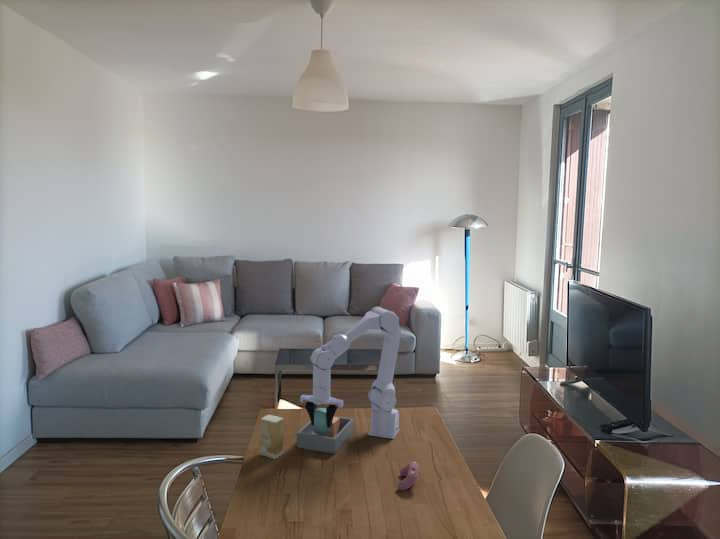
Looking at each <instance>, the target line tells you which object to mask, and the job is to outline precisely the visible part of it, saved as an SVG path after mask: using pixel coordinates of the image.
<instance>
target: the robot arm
mask: <svg viewBox="0 0 720 539" xmlns="http://www.w3.org/2000/svg"><path fill="white" fill-rule="evenodd" d="M399 322H400V318H399V317H398V315H397V314H396V313H395V312H394V311H393V310H388V309H385V308H383V307H381V306H374V307H372V308H371V309H370V310H368V311H367V312H366V313H365V314H364V315H363V317H362V318H361V319H360V320H359V321H357V322H356V323H355V324H354V325H353V326H351V328H349V329H348V330H347V331H346V332H345V333H344V334H341V333H339V334H335V335H333V336H332V338H331V340H329V341H328V342H327V343H325V344H322V345H321V347H319V348H316V349H314V350H313V351H312V354H311V356H309V360H310V362H311V363H312V394H309V395H308V394H302V395H301V396H299V402H300V403H305V405H304V409H305V410H306V411H307V413H308V416H309V419H310V420H311V424H312V425H314V410H315V409H317V407H318V406H319V405H324V406H327V407H326V412H327V427H328V428H330V427H331V426H332V420H333V417H334V416H335V414H336V412H337V409H338V408H340V409H342V408H343V406H344V399H340V398H336V397H333V396H331V377H332V376H331V367H333V364H334V362H335V360H336V359H337V358H339V357H340V356H341V355H343V353H345V352H346V351H347V350H349V349H350V347H351V346H350V345H351V343H352V342H353V341H355V340H356V339H358V338H359V337H361V336H362V335H363V334H364V333H367V331H369V330H380V331H381V332H382V333H383V335H384V338H383V343H382V347H381V348H382V349H381V355H380V360H379V366H378V370H377V371H378V372H377V377H376V379H375V380H374V381H372V385H371V388H370V390H369V391H368V394H367V396H368V400H369V401H370V403H371V404H370V405H371V410H370V411H371V415H370V416H371V418H370V419H371V421H370V422H371V425H370V429H369V431H368V432H367V434H366V435H367V436H373V437H378V438H385V439H392V440H394V439H395V438H396V436H397V435H398V434H399V431H400V427H399V426H400V412H399V410H397V409H395V407H396V404H397V399H396V389H395V385H394V384H393V382H394V374H395V370H396V369H395V368H396V364H397V363H396V362H397V358H398V353H399V346H400V342H401V336H402V330H401V326H400V323H399ZM317 405H318V406H317ZM310 420H309V421H310Z"/></svg>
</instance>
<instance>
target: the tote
mask: <svg viewBox="0 0 720 539" xmlns="http://www.w3.org/2000/svg"><path fill="white" fill-rule="evenodd" d="M334 417H337V418H340V430H339V433H338V434H337V435H336V436H335V437H329V436H323V435H320V434H316V433H315V432H314V425H312V424H311V420H309V421H308V422H307V423H306V424H305V425H304V426H303V427H302V428H300V429H299V430H298V431H297V433H296V448H297V447H298V448H297V449H302V448H303V449H302V450H308V451H315V452H321V453H327V454H333V455H336V454H338V452H339V451H340V449H341V448H342V447H343V446H344V445H345V443H347V442H348V440H349V439H350V437H351V436H352V435H353V434H354V430H355V427H354V425H355V424H354V423H355V419H354V418H350V417H343V416H336V415H334Z"/></svg>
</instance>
